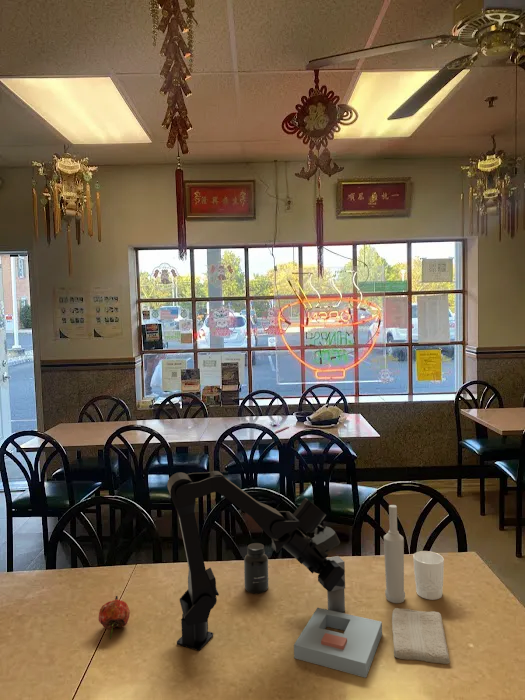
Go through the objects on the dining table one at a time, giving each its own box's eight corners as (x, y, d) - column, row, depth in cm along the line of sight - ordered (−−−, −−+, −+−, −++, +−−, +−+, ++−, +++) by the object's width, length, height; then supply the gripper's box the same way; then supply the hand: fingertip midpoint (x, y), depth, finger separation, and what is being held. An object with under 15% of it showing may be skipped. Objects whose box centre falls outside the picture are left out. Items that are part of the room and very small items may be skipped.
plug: (332, 615, 123) (330, 565, 123) (325, 606, 127) (323, 557, 127) (348, 612, 124) (346, 562, 124) (340, 603, 129) (338, 554, 128)
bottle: (406, 604, 127) (403, 509, 126) (385, 602, 128) (383, 509, 128) (404, 594, 132) (402, 503, 132) (384, 592, 133) (382, 502, 133)
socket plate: (366, 677, 100) (365, 659, 100) (294, 658, 107) (293, 641, 107) (382, 634, 115) (381, 618, 115) (317, 619, 122) (317, 604, 122)
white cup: (449, 601, 128) (448, 563, 128) (419, 601, 128) (418, 564, 128) (438, 585, 136) (438, 550, 136) (410, 586, 136) (409, 551, 136)
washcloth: (440, 619, 121) (440, 607, 121) (451, 668, 103) (451, 654, 103) (391, 615, 123) (390, 603, 123) (394, 661, 106) (393, 648, 106)
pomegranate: (129, 643, 118) (138, 601, 126) (118, 631, 114) (128, 588, 121) (100, 645, 119) (111, 603, 127) (88, 632, 115) (100, 590, 122)
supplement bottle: (258, 596, 133) (257, 553, 133) (239, 589, 137) (238, 547, 137) (273, 586, 139) (272, 544, 138) (254, 579, 143) (253, 539, 142)
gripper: (336, 534, 115) (378, 572, 119) (305, 508, 133) (343, 542, 137) (306, 572, 113) (350, 610, 117) (279, 541, 131) (318, 574, 134)
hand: (340, 581), depth 126 cm, fingers closed on plug, 4 cm apart
